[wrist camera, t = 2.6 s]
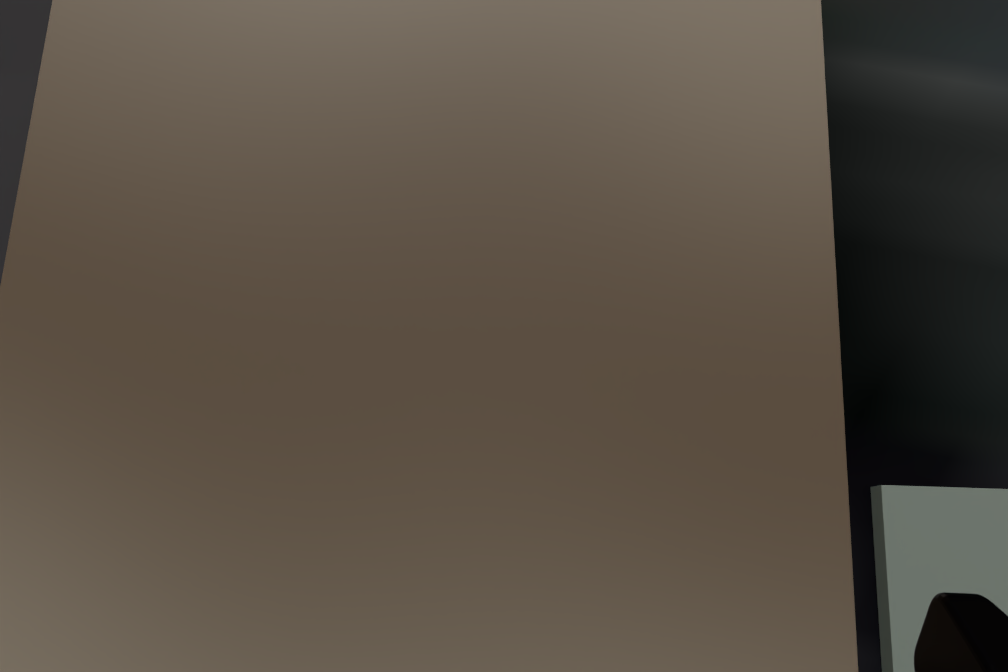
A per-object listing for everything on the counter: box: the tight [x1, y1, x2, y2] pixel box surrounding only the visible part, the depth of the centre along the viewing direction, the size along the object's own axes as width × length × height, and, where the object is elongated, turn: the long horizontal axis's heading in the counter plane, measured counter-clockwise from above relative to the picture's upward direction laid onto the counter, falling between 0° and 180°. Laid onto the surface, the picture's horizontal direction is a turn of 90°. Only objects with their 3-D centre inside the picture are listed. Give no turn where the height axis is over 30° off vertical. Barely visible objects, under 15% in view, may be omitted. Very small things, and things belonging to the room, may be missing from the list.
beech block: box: [0, 0, 858, 672], centre depth 11 cm, size 5×5×13 cm
